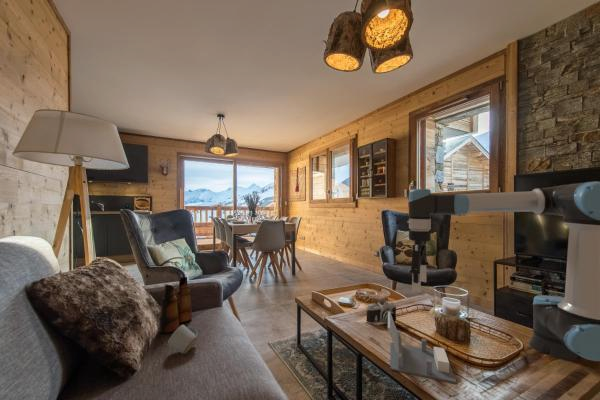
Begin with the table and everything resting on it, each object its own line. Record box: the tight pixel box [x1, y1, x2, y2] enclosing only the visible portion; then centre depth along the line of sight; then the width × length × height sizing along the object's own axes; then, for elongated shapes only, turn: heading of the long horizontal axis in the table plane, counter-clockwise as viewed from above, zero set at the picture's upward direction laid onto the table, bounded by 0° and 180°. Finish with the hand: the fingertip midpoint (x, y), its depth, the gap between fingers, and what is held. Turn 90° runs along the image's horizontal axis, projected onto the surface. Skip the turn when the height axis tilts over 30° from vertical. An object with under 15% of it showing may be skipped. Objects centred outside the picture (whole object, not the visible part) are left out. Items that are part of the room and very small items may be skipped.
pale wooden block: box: [433, 346, 450, 373], centre depth 91 cm, size 3×9×3 cm, turn 161°
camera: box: [365, 300, 397, 325], centre depth 124 cm, size 16×9×10 cm, turn 106°
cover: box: [387, 311, 399, 354], centre depth 97 cm, size 9×14×1 cm
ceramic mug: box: [167, 324, 198, 355], centre depth 100 cm, size 11×8×8 cm
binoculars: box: [158, 276, 193, 334], centre depth 122 cm, size 18×8×20 cm, turn 169°
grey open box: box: [389, 330, 457, 384], centre depth 94 cm, size 20×17×6 cm
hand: (419, 286), depth 97 cm, fingers open, 13 cm apart
